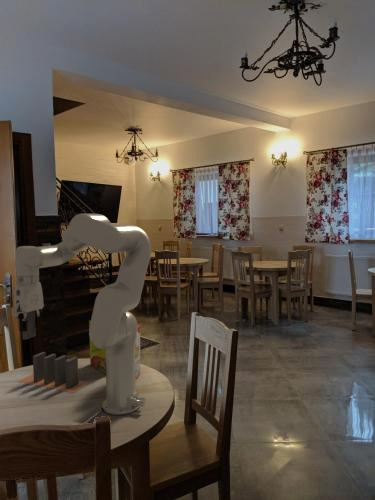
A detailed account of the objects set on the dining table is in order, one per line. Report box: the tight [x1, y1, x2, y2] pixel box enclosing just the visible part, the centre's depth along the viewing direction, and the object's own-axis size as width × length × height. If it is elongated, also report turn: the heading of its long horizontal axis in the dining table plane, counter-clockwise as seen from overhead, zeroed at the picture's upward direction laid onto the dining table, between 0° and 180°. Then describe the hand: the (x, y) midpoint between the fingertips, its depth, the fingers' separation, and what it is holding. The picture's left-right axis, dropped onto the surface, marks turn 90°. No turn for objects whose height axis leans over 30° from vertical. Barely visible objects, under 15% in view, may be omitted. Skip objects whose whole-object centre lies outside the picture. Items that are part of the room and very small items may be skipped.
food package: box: [88, 319, 106, 374], centre depth 156 cm, size 15×1×20 cm, turn 42°
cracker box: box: [135, 324, 141, 382], centre depth 144 cm, size 14×6×21 cm, turn 168°
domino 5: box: [65, 356, 79, 389], centre depth 140 cm, size 2×5×10 cm, turn 158°
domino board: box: [17, 373, 89, 394], centre depth 144 cm, size 26×9×1 cm, turn 68°
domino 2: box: [32, 351, 47, 383], centre depth 146 cm, size 2×5×10 cm, turn 158°
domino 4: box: [54, 354, 68, 387], centre depth 142 cm, size 2×5×10 cm, turn 158°
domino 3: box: [43, 353, 57, 385], centre depth 144 cm, size 2×5×10 cm, turn 158°
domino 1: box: [21, 311, 37, 340], centre depth 141 cm, size 2×5×10 cm, turn 159°
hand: (29, 328), depth 141 cm, fingers closed on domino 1, 4 cm apart
